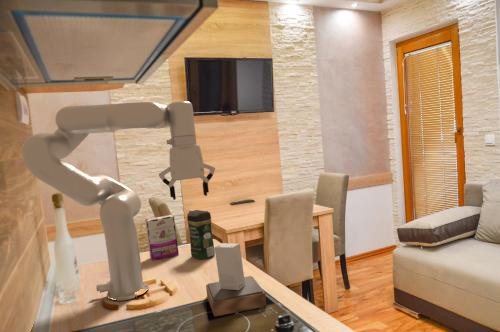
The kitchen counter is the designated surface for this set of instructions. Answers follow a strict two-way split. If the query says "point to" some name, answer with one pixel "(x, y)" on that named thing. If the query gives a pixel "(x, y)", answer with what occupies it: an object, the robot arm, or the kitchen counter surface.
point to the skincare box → (230, 266)
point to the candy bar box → (162, 237)
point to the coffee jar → (200, 234)
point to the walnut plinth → (235, 297)
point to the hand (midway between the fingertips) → (190, 197)
